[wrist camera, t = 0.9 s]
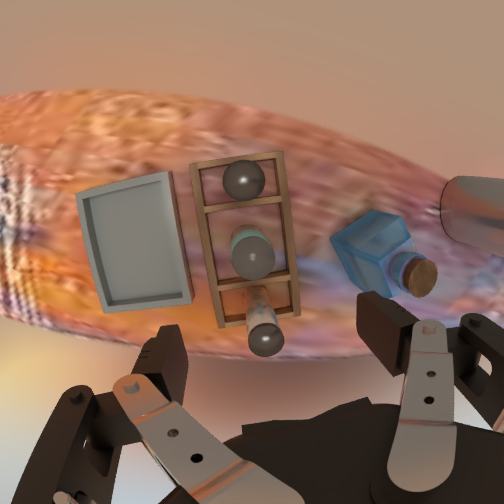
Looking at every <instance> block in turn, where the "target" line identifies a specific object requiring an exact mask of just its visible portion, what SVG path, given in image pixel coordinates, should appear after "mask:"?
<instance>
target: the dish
mask: <svg viewBox="0 0 504 504" xmlns="http://www.w3.org/2000/svg"><path fill="white" fill-rule="evenodd" d="M76 201H77V207H78V213H79V218H80V223H81V228H82V233H83V238H84V243H85V247H86V251H87V256H88V260H89V264H90V268H91V271H92V275H93V279H94V282H95V286H96V289H97V293H98V296H99V299H100V302H101V305H102V309H103V312H104V314H105V313H116V312H126V311H135V310H144V309H153V308H162V307H170V306H178V305H186V304H192V303H193V299H194V296H195V295H194V291H193V286H192V282H191V277H190V272H189V267H188V262H187V257H186V252H185V247H184V242H183V236H182V231H181V225H180V219H179V214H178V208H177V201H176V195H175V189H174V182H173V175H172V172H171V171H164V172H159V173H154V174H150V175H145V176H141V177H136V178H132V179H128V180H124V181H120V182H116V183H112V184H108V185H104V186H100V187H97V188H93V189H90V190H86V191H83V192H79V193H76Z"/></svg>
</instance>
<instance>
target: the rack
mask: <svg viewBox="0 0 504 504" xmlns="http://www.w3.org/2000/svg"><path fill="white" fill-rule="evenodd" d="M269 159H274V166H275V173H276V180H277V188H278V195H275V196H268V197H260V198H255V199H253V200H250V201H232V202H226V203H219V204H213V205H207V206H205V201H204V194H203V188H202V181H201V174H200V169H205V168H212V167H218V166H224V165H230V164H232V163H233V162H235V161H238V160H250V161H261V160H269ZM189 166H190V173H191V180H192V186H193V193H194V199H195V206H196V212H197V218H198V224H199V230H200V236H201V241H202V247H203V252H204V258H205V263H206V269H207V274H208V279H209V284H210V289H211V294H212V299H213V304H214V309H215V314H216V318H217V323H218V328H219V329H220V328H227V327H235V326H241V325H247V323H246V315H245V314H242V315H235V316H228V317H225V314H224V309H223V304H222V299H221V294H220V291H224V290H230V289H237V288H244V287H250V286H256V285H263V284H269V283H275V282H281V281H287V280H288V282H289V292H290V303H291V307H285V308H279V309H274V312H275V315H276V318H277V320H279V319H284V318H290V317H295V316H301V309H300V297H299V285H298V274H297V264H296V253H295V244H294V234H293V225H292V217H291V208H290V200H289V192H288V184H287V176H286V169H285V162H284V154H283V151H278V152H269V153H260V154H252V155H244V156H237V157H230V158H223V159H216V160H210V161H204V162H198V163H193V164H189ZM275 202H279V204H280V212H281V220H282V228H283V237H284V245H285V254H286V263H287V270H286V271H280V272H274V273H269V274H268V275H266V276H265V277H263V278H261V279H258V280H248V279H245V278H243V277H242V278H235V279H229V280H222V281H218V278H217V272H216V267H215V261H214V255H213V250H212V244H211V238H210V232H209V226H208V220H207V214H206V213H208V212H214V211H220V210H227V209H233V208H240V207H247V206H254V205H261V204H268V203H275Z"/></svg>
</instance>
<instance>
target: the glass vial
mask: <svg viewBox="0 0 504 504" xmlns="http://www.w3.org/2000/svg"><path fill="white" fill-rule="evenodd" d="M264 185H265V176H264V172H263V170H262V169H261V167H260V166H259V165H258V164H256V163H255V162H253V161H250V160H238V161H235V162H233V163H232V164H230V165H229V166H228V167H227V168H226V170H225V172H224V175H223V187H224V189H225V191H226V193H227V194H228V195H229V196H230V197H231V198H233V199H235V200H238V201H250V200H253V199H255V198H256V197H257V196H259V195H260V193H261V192H262V190H263V188H264Z"/></svg>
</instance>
